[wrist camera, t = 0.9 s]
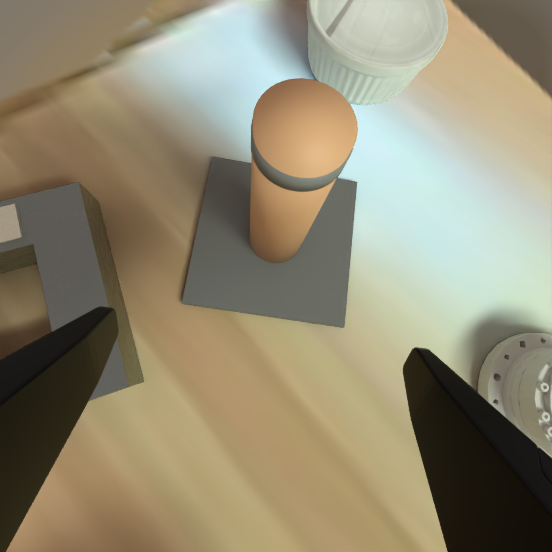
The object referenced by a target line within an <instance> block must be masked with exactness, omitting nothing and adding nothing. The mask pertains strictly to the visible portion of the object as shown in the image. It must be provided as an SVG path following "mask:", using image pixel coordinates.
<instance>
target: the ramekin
mask: <svg viewBox="0 0 552 552" xmlns="http://www.w3.org/2000/svg"><path fill="white" fill-rule="evenodd" d="M307 19H308V58H309V62H310V67H311V70H312V72H313V74H314V76H315V78H316V79H317V80H318V81H319V82H322V83H325V84H327V85H329V86H331V87H332V88H334V89H335V90H337V91H338V92H339V93H340V94H342V95H343V96H344V97H345V99H346V100H347V101H348V102H349V103H352V104H357V105H371V104H377V103H382V102H384V101H387V100H389V99H391V98H393V97H395V96H396V95H397V94H399V93H400V92H401V91H402V90H403V89H404V88H405V87H406V86H407V85H408V84H409V83H410V82H411V80H412V79H413V78H414V77H415V76H416V75H417V74H418V72H419V71H420V70H421V69H422V68H423V67H425V66H426V65H427V64H428V63H429V62H431V60H432V59H433V58H434V57H435V56H436V54H437V53H438V51H439V50H440V48H441V47H442V45H443V43H444V41H445V38H446V35H447V29H448V14H447V10H446V7H445V5H444V3H443V0H307Z"/></svg>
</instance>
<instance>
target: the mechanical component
mask: <svg viewBox="0 0 552 552" xmlns="http://www.w3.org/2000/svg"><path fill="white" fill-rule="evenodd" d="M478 393H479V394H480V395H481V396H482V397H483V398H484V399H485V400H487V401H488V402H489V403H490V404H491V405H492V406H493V407H495V408H496V409H497V410H498V411H499V412H500V413H501V414H502V415H504V416H505V417H506V418H507V419H508V420H509V421H510V422H511V423H513V424H514V425H515V426H516V427H517V428H518V429H519V430H521V431H522V432H523V433H524V434H525V435H526V436H527V437H528V438H530V439H531V440H532V441H533V442H534V443H535V444H536V445H537V447H539V448H541V449H542V450H543V451H544V452H546V453H547V454H548V455H549V456H550V457H551V458H552V335H551V334H547V333H524V334H518V335H514V336H511V337H509V338H507V339H505V340H504V341H502V342H500V343H498V344H497V345H496V346H495V347H494V348H493V350H492V351H491V352H490V353H489V354H488V355H487V357H486V359H485V361H484V363H483V365H482V367H481V371H480V375H479V379H478Z"/></svg>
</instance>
